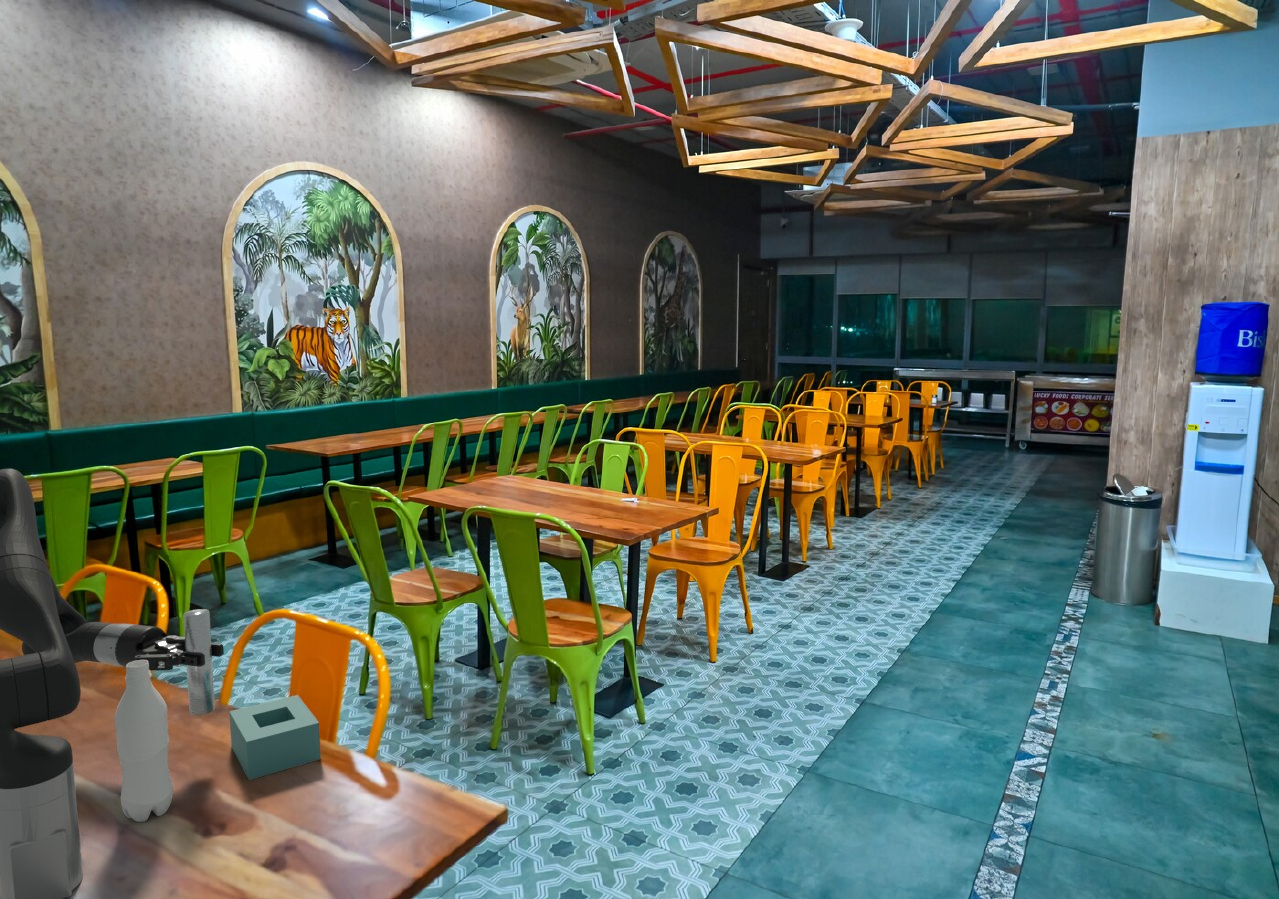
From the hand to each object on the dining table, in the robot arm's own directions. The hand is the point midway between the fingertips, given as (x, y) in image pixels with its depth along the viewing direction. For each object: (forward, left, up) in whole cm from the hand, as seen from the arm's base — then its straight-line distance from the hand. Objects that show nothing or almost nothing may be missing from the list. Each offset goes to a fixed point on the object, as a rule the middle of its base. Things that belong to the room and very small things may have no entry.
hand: (212, 655), depth 145 cm
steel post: (+2, +2, -10) cm, 11 cm away
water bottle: (-11, +12, -20) cm, 26 cm away
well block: (-3, -9, -20) cm, 22 cm away
